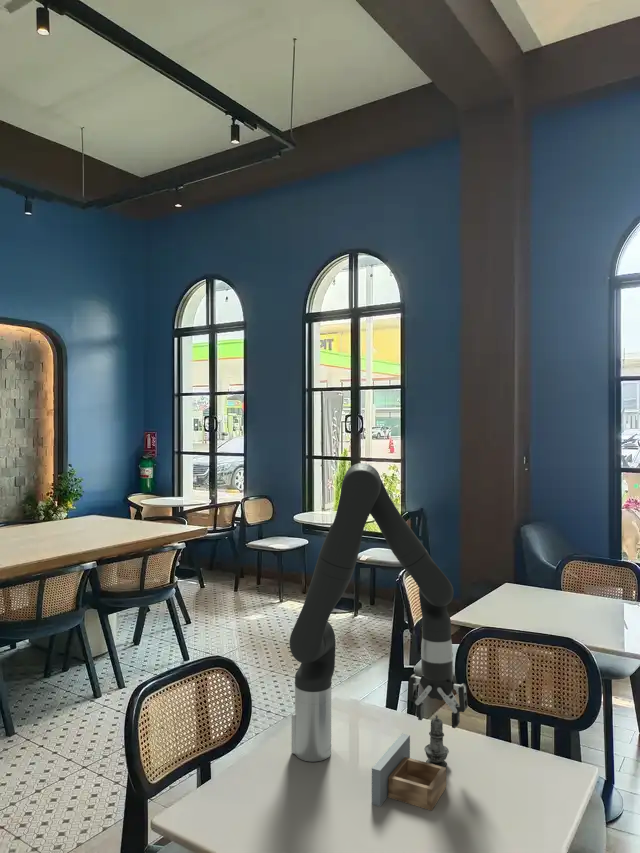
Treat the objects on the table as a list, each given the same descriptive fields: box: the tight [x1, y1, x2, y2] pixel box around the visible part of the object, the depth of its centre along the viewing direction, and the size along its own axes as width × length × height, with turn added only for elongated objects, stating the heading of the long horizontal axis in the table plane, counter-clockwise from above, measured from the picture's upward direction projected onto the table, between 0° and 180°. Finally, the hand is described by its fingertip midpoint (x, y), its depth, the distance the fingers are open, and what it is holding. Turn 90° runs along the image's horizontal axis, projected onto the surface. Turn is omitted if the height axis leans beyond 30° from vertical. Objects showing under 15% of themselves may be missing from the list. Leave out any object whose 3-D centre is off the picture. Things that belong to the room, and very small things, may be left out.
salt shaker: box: [424, 715, 450, 768], centre depth 157 cm, size 6×6×12 cm
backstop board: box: [371, 732, 411, 807], centre depth 148 cm, size 2×18×8 cm, turn 151°
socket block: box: [387, 757, 447, 811], centre depth 145 cm, size 10×10×4 cm
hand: (437, 722), depth 156 cm, fingers open, 8 cm apart
